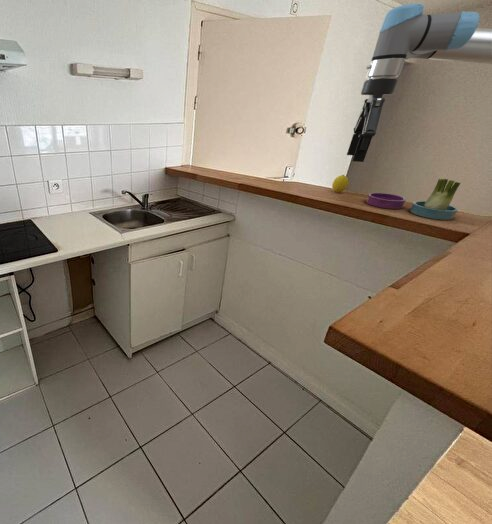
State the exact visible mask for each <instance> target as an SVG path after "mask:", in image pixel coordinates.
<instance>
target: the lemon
mask: <svg viewBox="0 0 492 524" xmlns="http://www.w3.org/2000/svg"><path fill="white" fill-rule="evenodd" d="M348 185H349V178H348V177H347V176H346V175H345V174H341V175H338V176H337V177H335V178H334V180H333V182H332V186H331V187H332V188H331V189H332V191H334V192H335V193H337V194H339V193H342V192H344V191H346V189H347V188H348Z"/></svg>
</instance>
